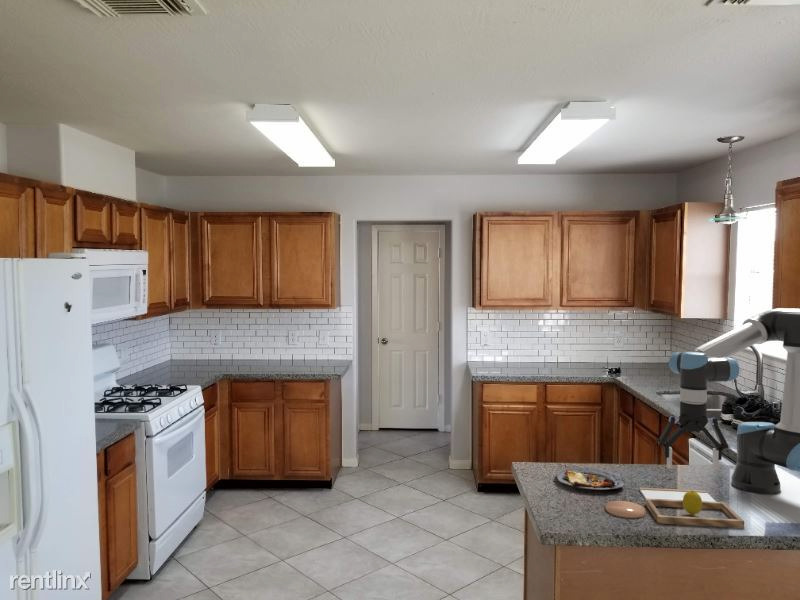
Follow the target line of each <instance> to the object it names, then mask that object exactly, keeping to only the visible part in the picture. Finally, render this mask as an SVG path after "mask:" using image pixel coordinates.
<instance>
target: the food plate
mask: <svg viewBox="0 0 800 600" xmlns="http://www.w3.org/2000/svg"><path fill="white" fill-rule="evenodd" d="M582 473H584V474H588V475H586V477H589V478H588V480H589V479H590V480H591V481H592V482H593V483H592V484H589V483H587V481H586V480H587V478H584V477H585V475H583V474H582ZM556 476H557V480H558V482H559V483H561V484H564V485H565V486H569V487H573V488H577V489H585V490H593V491H595V490H596V491H608V490H618V489H621V488H623V487H625V485H626V484H625V480H624V479H623V477H622V476H621V475H620V474H618V473H614V472H612V471H608V470H605V469H600V468H594V467H593V468H592V467H579V466H578V467H567V468H562V469H560V470H559V471H557V472H556ZM598 477H599V478H598ZM602 477H603V479H604V478H605V479H604V480H602V481H598V480H600V478H602Z"/></svg>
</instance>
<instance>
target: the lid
mask: <svg viewBox="0 0 800 600" xmlns="http://www.w3.org/2000/svg"><path fill="white" fill-rule="evenodd" d="M638 488H639V489H638V490H639V492H640V494H641V495H642V496H643V498H644V499H645V498H648V499H668V500H683V497H684V495H685V494H686V493H687V492H689V491H691V490H693V491H694V492H696V493H698V494H699V495H700V497H701V499H702V501H708V502H717V501H716V500H715V499H714V498H713V497H712V496H711V495H710V494H709V493H708V491H707V490H699V489H696V490H695V489H679V488H678V489H677V488H660V487H659V488H658V487H657V488H656V487H655V488H654V487H638Z"/></svg>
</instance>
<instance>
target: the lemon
mask: <svg viewBox="0 0 800 600" xmlns="http://www.w3.org/2000/svg"><path fill="white" fill-rule="evenodd" d="M690 490H691V491H689V492H687V493H686V494H685V495H684V497H683V507H684V508H683V509H684V511H686V512H687V513H688V514H689V515H691V517H694V516H695V515H698V514H699V513H700V512H701V511H702V499H701V497H700V495H699V494H698V493H696V492H694V491H693V490H694V489H690Z"/></svg>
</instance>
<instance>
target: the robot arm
mask: <svg viewBox="0 0 800 600" xmlns="http://www.w3.org/2000/svg"><path fill="white" fill-rule="evenodd" d="M772 341H773V342H777V341H778V342H779V341H781V342H782V347H783V349H784V350H785V351H786V352H787V355H786V362H785V363H786V364H785V365H786V366H785V374H784V383H783V384H784V385H783V390H782V391H783V392H782V393H783V394H782V401H781V409H780V410H781V413H780V419H779V420H780V421H779V422H778V423H776V424H774V423H773V422H765V421H746V422H741V423H739V424H738V425H737V430H736V431H737V433H736V464H735V468H734V470H733V471H732V475H731V482H730V483H731V485H733V487H734V488H738V489H740V490H743V491H745V492H751V493H756V494H766V495H767V494H769V495H770V494H777V493H779V492H781V487H782V486H781V482H780V478H779V475H778V473H777V470H776V466H779V467H782V468H786V469H788V470H790V471H793V472H794V471H795V472H799V473H800V308H785V307H779V308H777V307H776V308H773V309H769V310H766V311H763V312H761V313H758V314H756V315H754V316H752V317H750V318H748V319H747V318H746V319H745V320H744V321H743V323H742V325H740V326H738V327H736V328H734V329H732V330H728V331H727V332H725V333H724V334H721V335H720V336H717V337H716V338H713V339H711V340H709V341H708V342H705V343H703V344H701V345H699V346H697V347H695V348H693V349H691V350H689V351H686V352H683V351H680V352H679V351H677V352H674V353H672V354H671V355H670V357H669V358H668V359H669V360H668V367H669V369H670V371H671V372H673V373H675V374H677V375H680V377H679V379H680V384H679V385H680V386H679V387H680V391H679V392H680V393H679V400H680V402H679V416H673V415H669V416H668V421H667V423H666V426H665V427H664V429H663V431H662V433H660V436H659V438H658V439H657V444H658V445H660V446H661V447H663V456H664V457H665V458H666V468H667V469H668V470H672V469H673V448H672V447H671V446H672V445H673V444H674V443H675V442H676V441H677V440H678V439H679V438H680V437H681V436H682V434H684V433H686V432H688V433H692V432H693V433H694V432H695V433H700V432H702V433H703V435H704V436H705V437H706V438H707V439H708V440H709V441H710V443H711V444H712V445H713V446H714V447H715V448H714V447H713V448H712V470H713V471H714V472H719V461H722V457H723V455H722V454H723V453H722V452H723V451H724V450H725V449H729V444H728V442H727V440H726V438H725V436H724V434H723V432H722V430H721V428H720V427H719V422H718V421H719V420H718V419H717V418H716V417H714V416H710V417H709V418H708V417H707V409H708V408H707V407H708V406H707V405H708V404H707V403H706V402H707V401H708V399H707V398H708V395H707V394H708V392H707V391H708V383H716V382H718V383H719V382H720V383H721V382H722V383H723V382H725V383H726V382H731V381H734V380H736V379H737V378H738V377H739V375H740V366H739V363H738V362H737V360H736V359H734V358H733V357H732V358H731V356H733V355H735V354H737V353H739V352H741V351H743V350H745V349H747V348H749V347H751V346H754V345H762V344H764V343H767V342H772ZM677 423H680V424H679V425H678V427H677V428H676V430H674V432H673V433H672V434H671V432H672V430H673V428H674V427H675V424H677ZM708 423H709V425H710V426H712V429H713V431H714V434H715V435H716V437H717V438H718V440H716V439H715V437H714V436H713V435H712V434H711V432H709V430H708V429H707V428H706V425H707V424H708ZM670 434H671V435H670ZM718 441H719V442H718Z"/></svg>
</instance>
